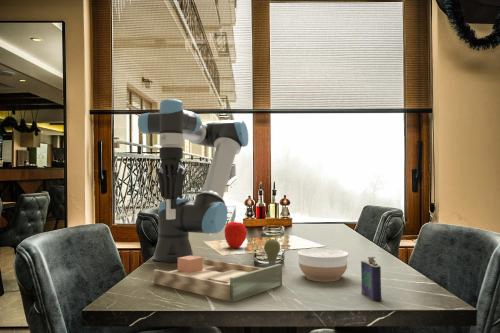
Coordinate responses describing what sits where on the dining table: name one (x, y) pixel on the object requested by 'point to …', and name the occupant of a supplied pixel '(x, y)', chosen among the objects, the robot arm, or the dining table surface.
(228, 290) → the box
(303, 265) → the bowl
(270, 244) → the light bulb
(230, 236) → the apple
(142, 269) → the dining table surface
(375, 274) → the flask
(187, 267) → the block
